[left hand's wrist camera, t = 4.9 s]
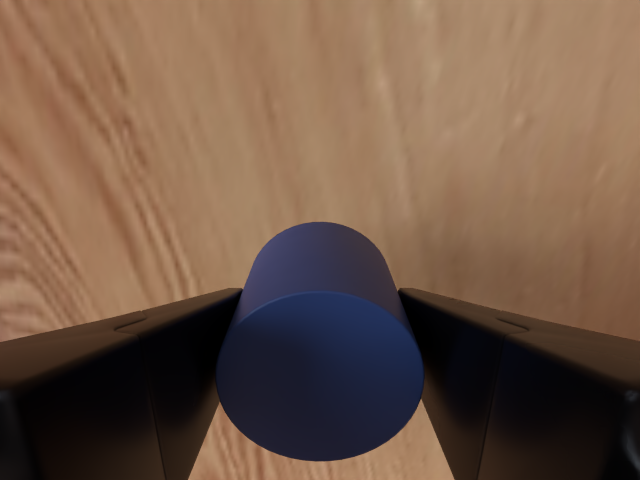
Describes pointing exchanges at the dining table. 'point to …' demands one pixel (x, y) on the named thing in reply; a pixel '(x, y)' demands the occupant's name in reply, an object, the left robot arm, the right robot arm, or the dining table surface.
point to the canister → (319, 348)
